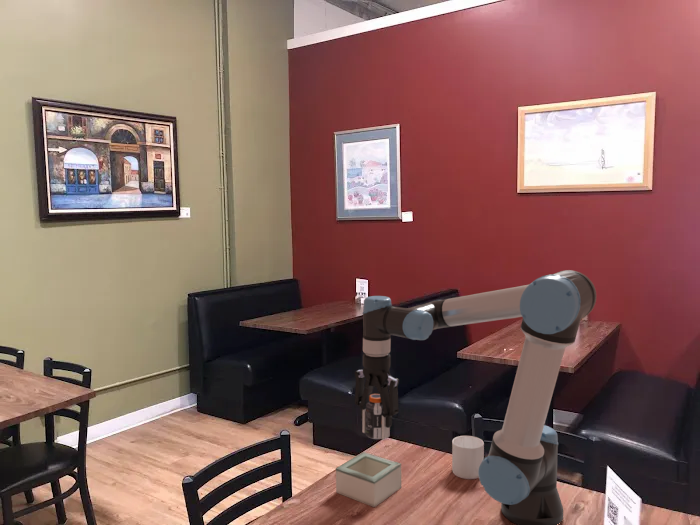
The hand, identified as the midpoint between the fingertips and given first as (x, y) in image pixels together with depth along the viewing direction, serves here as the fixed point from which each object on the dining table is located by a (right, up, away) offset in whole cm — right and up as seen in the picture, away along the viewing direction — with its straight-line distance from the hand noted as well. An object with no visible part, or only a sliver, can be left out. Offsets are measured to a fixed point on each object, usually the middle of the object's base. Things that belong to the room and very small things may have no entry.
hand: (375, 434), depth 159 cm
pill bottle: (0, -1, 0) cm, 0 cm away
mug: (+28, -14, +12) cm, 33 cm away
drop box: (-2, -16, +1) cm, 16 cm away
